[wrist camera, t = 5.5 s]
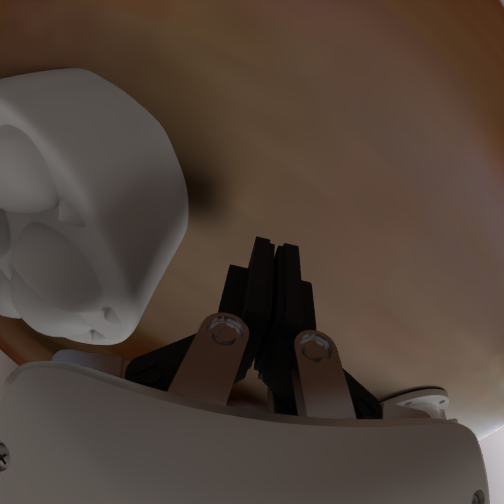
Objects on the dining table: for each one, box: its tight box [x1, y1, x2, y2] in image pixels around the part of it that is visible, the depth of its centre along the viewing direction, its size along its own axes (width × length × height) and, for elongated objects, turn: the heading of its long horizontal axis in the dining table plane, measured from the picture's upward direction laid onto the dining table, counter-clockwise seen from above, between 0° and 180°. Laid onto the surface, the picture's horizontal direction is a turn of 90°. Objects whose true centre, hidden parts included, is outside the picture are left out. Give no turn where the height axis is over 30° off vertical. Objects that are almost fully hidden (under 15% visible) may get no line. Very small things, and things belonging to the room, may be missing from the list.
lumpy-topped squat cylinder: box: [0, 68, 188, 345], centre depth 11 cm, size 10×13×9 cm
